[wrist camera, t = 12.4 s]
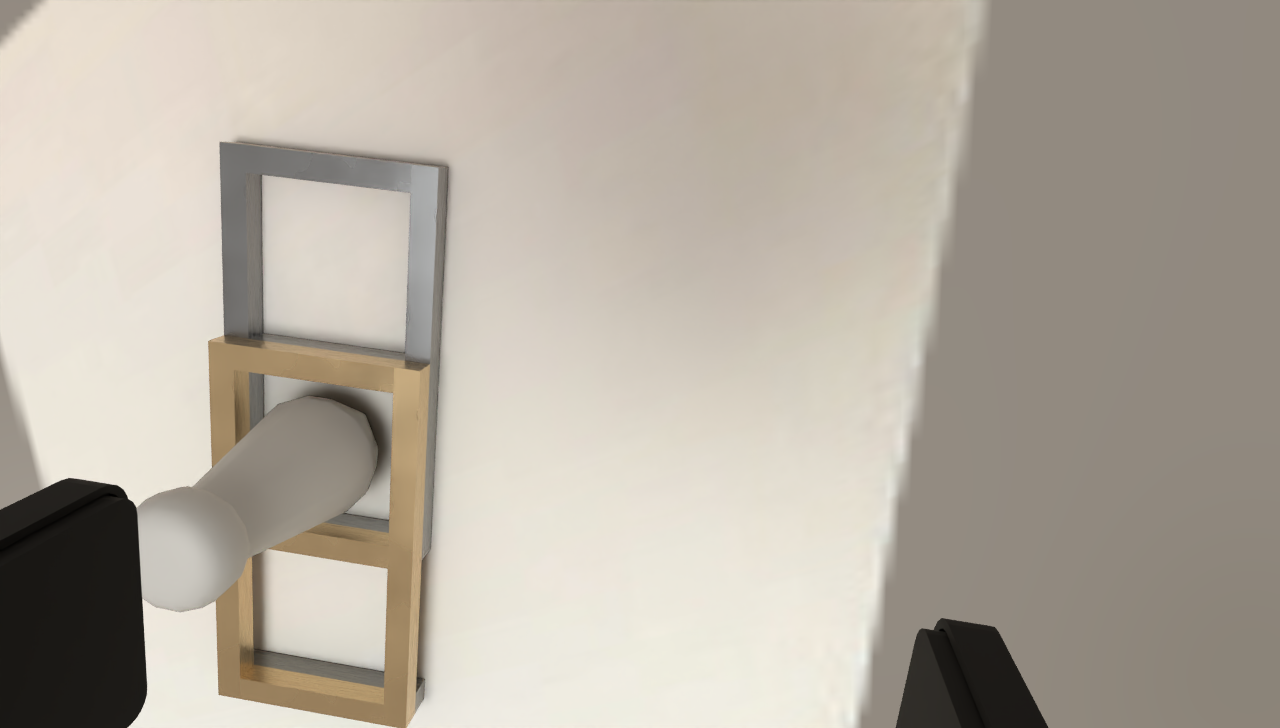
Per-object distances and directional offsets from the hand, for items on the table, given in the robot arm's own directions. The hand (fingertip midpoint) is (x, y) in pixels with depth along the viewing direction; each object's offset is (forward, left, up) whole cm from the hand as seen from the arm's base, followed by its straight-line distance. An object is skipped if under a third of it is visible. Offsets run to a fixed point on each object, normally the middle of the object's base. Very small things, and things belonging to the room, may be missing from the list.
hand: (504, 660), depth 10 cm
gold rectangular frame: (+14, -16, -28) cm, 36 cm away
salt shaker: (+10, -16, -28) cm, 34 cm away
